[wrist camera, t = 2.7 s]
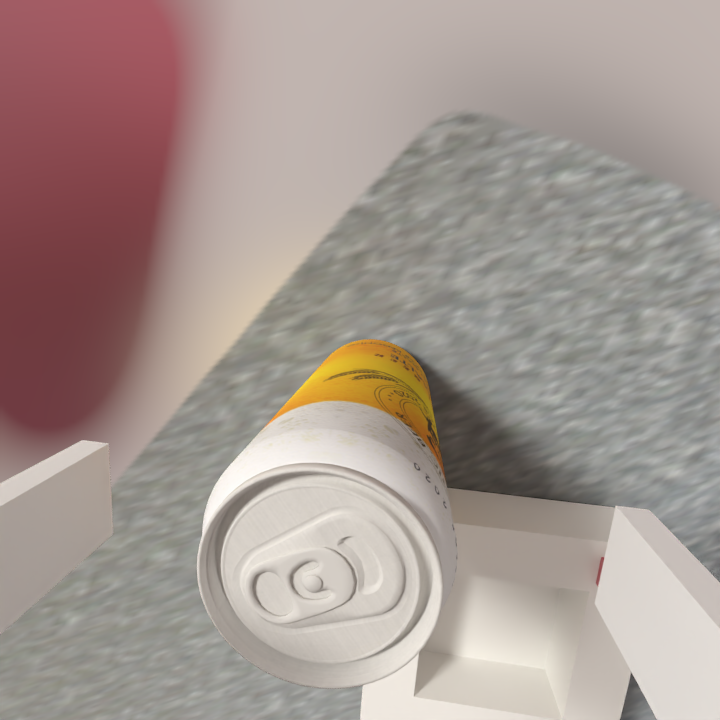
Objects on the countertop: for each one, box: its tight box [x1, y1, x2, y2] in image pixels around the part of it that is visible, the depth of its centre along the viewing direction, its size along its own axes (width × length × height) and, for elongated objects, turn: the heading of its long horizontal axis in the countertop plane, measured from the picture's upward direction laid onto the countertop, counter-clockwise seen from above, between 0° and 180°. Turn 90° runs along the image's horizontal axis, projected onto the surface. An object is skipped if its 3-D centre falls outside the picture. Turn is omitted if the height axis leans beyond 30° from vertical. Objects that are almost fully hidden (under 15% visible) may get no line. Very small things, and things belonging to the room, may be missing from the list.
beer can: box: [197, 339, 458, 689], centre depth 17 cm, size 6×6×15 cm
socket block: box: [360, 488, 631, 720], centre depth 24 cm, size 13×13×4 cm
